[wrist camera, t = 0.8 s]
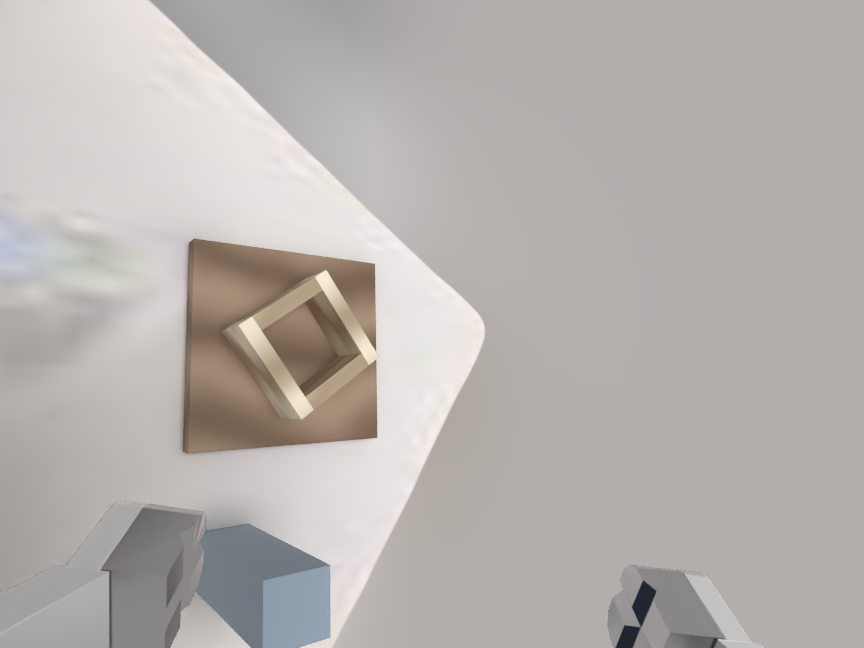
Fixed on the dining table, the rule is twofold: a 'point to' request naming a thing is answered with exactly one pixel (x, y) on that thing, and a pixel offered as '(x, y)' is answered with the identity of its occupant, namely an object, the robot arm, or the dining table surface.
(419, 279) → the dining table surface
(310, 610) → the slate peg
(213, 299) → the socket board
